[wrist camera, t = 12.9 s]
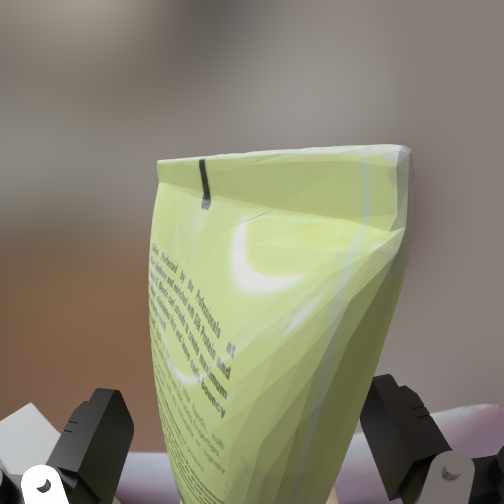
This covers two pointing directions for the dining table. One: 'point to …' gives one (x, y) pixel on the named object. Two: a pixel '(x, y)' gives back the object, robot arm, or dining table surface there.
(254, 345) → the tube
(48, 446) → the small box
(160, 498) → the dining table surface
